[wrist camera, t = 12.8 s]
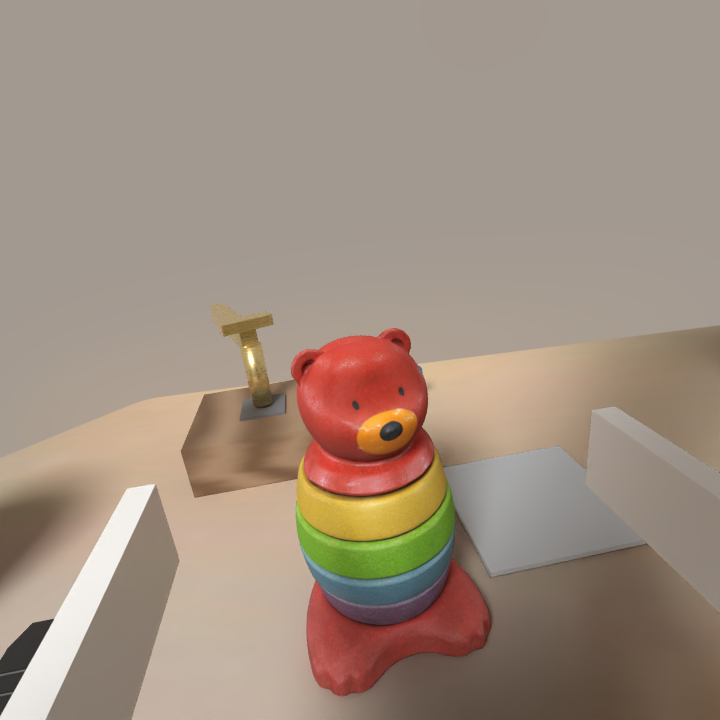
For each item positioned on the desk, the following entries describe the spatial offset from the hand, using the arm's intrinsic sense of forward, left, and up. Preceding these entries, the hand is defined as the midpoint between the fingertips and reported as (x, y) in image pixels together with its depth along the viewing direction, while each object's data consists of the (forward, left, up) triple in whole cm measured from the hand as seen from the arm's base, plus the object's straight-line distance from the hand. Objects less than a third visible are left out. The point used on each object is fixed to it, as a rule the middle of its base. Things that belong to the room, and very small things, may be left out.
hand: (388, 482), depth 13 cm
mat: (-14, -16, -17) cm, 27 cm away
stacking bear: (-1, -10, -17) cm, 20 cm away
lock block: (+7, -31, -17) cm, 36 cm away
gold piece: (+10, -37, -11) cm, 40 cm away
